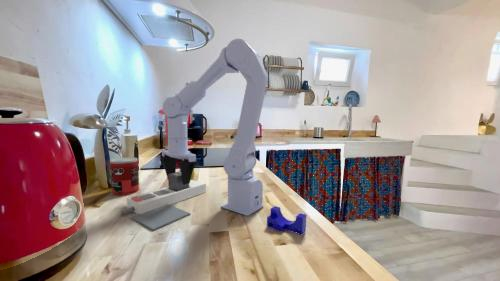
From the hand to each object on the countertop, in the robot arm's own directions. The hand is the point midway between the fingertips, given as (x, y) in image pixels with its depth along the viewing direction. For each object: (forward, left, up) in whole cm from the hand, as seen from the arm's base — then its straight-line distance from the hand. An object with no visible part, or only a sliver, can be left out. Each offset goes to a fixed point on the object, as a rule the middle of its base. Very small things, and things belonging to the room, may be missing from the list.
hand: (178, 181), depth 67 cm
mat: (-8, +11, -5) cm, 15 cm away
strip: (0, +4, -5) cm, 7 cm away
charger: (0, 0, -3) cm, 3 cm away
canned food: (+18, +8, -5) cm, 20 cm away
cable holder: (-36, -3, -5) cm, 36 cm away
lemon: (+9, -10, -5) cm, 14 cm away
